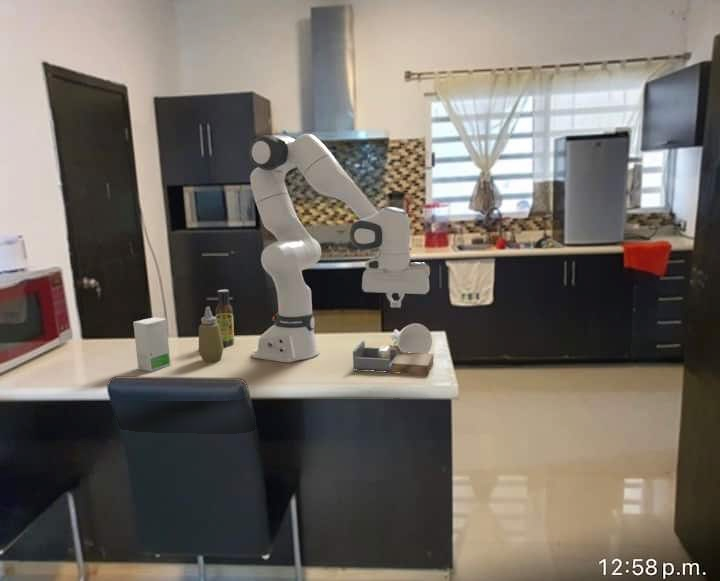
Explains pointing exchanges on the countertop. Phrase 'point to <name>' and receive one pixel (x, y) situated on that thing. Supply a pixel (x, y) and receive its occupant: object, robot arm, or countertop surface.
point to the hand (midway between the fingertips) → (395, 307)
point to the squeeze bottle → (210, 338)
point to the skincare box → (152, 344)
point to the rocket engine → (413, 339)
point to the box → (371, 359)
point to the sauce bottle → (225, 317)
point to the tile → (384, 352)
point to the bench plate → (412, 363)
